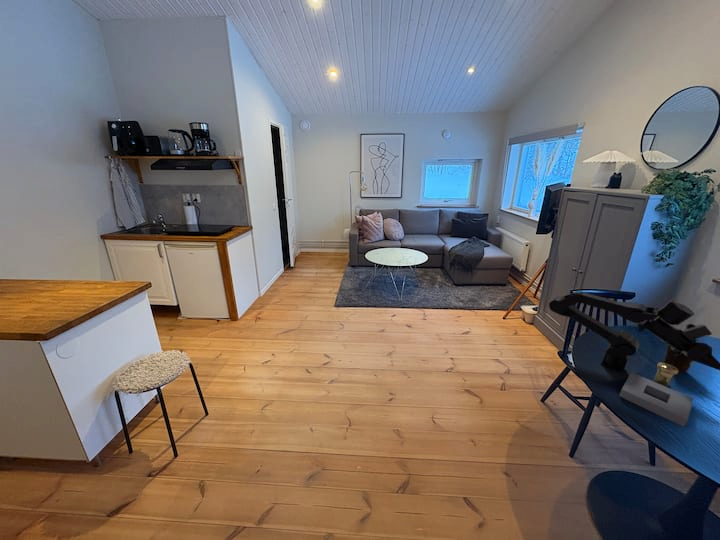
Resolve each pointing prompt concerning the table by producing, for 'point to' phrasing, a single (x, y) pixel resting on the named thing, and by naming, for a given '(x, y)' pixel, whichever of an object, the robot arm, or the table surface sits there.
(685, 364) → the coffee mug
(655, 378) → the brass fitting
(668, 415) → the flange socket
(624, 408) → the table surface
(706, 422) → the table surface
